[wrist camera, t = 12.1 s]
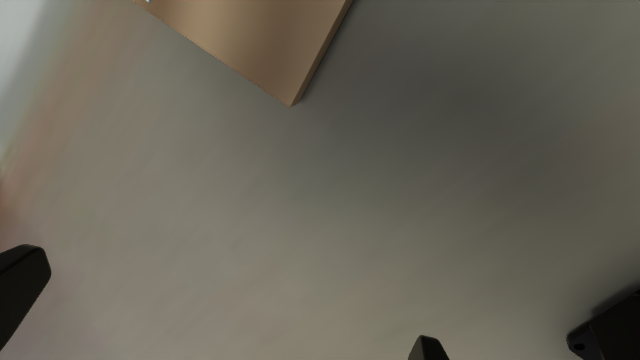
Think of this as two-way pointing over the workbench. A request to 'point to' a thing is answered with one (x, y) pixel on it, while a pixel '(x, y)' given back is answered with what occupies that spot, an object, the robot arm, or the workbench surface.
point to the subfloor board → (259, 36)
